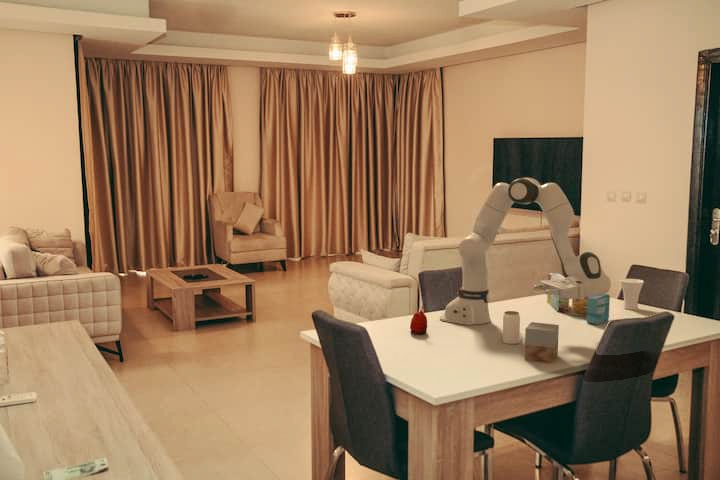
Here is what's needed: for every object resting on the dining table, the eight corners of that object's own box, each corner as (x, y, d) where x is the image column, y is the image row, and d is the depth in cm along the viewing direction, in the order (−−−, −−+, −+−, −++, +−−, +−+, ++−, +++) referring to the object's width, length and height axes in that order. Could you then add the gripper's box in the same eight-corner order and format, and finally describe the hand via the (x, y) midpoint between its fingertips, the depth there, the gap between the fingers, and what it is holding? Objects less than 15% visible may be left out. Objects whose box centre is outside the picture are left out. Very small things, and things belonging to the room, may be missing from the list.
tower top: (525, 344, 254) (525, 328, 253) (530, 337, 263) (531, 322, 262) (553, 347, 250) (553, 331, 249) (558, 340, 259) (558, 324, 258)
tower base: (524, 360, 255) (525, 344, 254) (530, 353, 264) (530, 337, 263) (552, 364, 251) (553, 347, 250) (557, 356, 260) (558, 340, 259)
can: (519, 344, 274) (520, 314, 273) (502, 344, 275) (503, 314, 274) (519, 340, 280) (519, 311, 279) (502, 339, 282) (503, 310, 280)
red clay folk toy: (416, 329, 297) (416, 295, 295) (431, 332, 293) (431, 297, 291) (407, 333, 291) (407, 298, 289) (421, 336, 287) (422, 300, 285)
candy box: (571, 315, 321) (572, 282, 319) (572, 313, 325) (573, 280, 323) (591, 317, 318) (593, 283, 316) (592, 314, 322) (593, 282, 320)
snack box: (569, 312, 327) (570, 280, 325) (557, 312, 328) (558, 280, 326) (557, 302, 348) (558, 272, 346) (546, 302, 349) (547, 272, 347)
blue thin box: (595, 325, 304) (596, 298, 302) (586, 323, 307) (587, 296, 305) (609, 320, 312) (610, 293, 310) (599, 318, 315) (600, 292, 314)
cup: (622, 305, 341) (623, 277, 340) (644, 307, 335) (646, 280, 334) (616, 309, 333) (617, 281, 331) (639, 312, 327) (640, 283, 325)
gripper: (558, 275, 291) (528, 277, 288) (585, 284, 271) (553, 286, 268) (558, 290, 292) (528, 292, 289) (585, 300, 272) (553, 303, 269)
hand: (540, 290), depth 278 cm, fingers open, 8 cm apart
